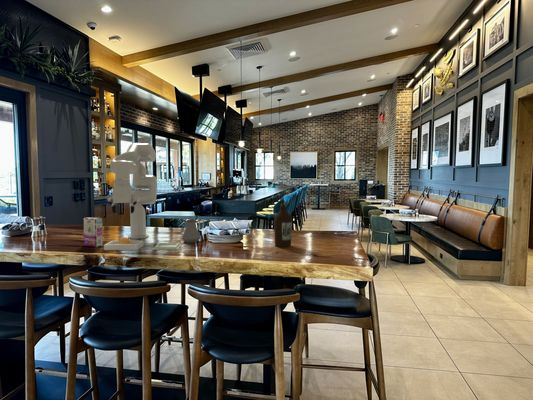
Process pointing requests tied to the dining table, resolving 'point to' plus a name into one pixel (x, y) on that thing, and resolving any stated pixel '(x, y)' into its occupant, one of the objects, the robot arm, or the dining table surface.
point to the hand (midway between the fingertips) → (123, 212)
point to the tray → (167, 246)
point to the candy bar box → (93, 232)
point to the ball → (124, 241)
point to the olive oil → (283, 228)
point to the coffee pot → (191, 232)
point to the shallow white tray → (124, 245)
